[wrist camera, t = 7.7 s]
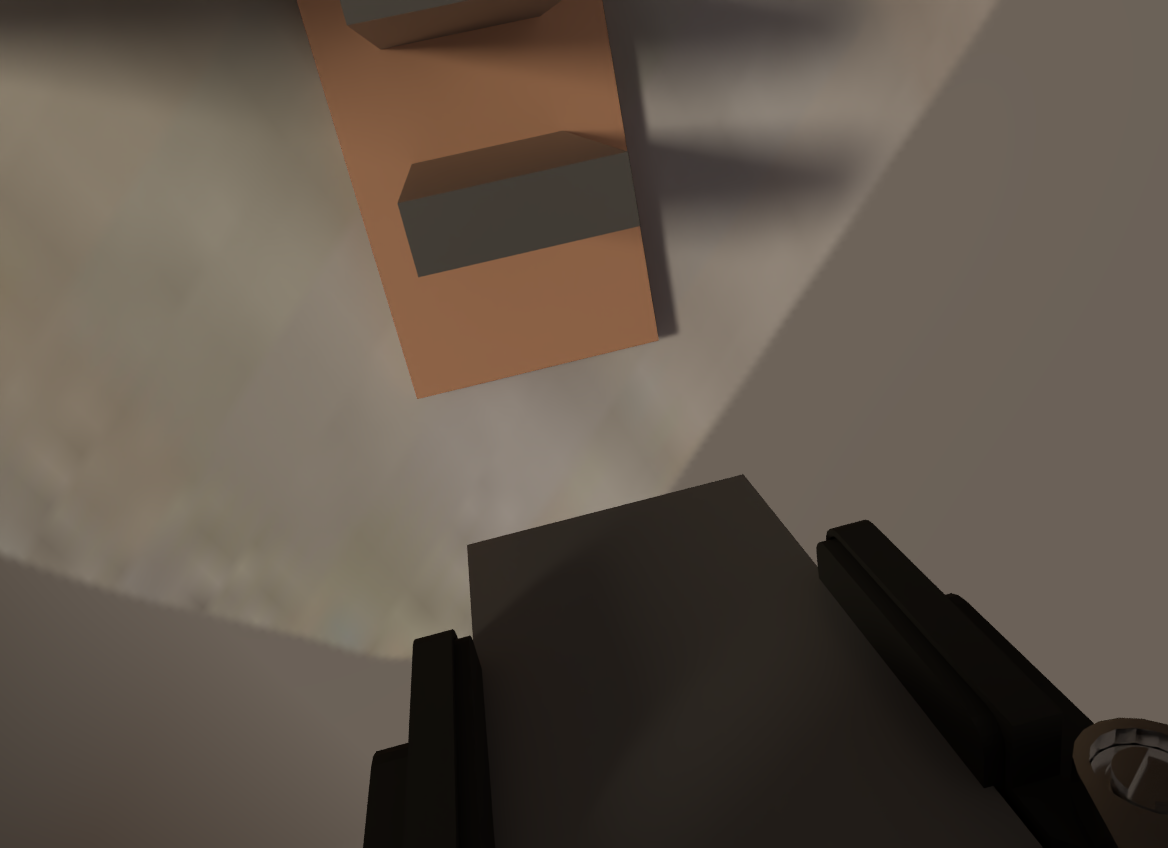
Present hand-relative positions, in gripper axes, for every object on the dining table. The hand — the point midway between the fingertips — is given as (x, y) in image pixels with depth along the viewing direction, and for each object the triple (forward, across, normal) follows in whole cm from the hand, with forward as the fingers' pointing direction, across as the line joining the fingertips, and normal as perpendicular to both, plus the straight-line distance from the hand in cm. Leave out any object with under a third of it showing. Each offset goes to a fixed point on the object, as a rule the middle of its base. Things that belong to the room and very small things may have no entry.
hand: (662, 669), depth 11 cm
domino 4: (+19, 0, -5) cm, 20 cm away
